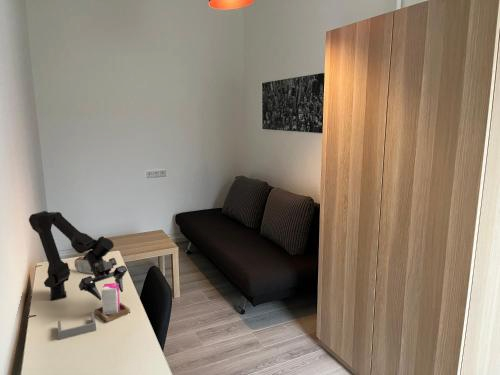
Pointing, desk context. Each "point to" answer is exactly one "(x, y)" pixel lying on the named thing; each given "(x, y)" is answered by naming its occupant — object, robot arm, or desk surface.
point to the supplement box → (110, 299)
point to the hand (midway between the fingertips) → (111, 295)
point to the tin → (83, 265)
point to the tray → (120, 313)
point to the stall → (76, 329)
